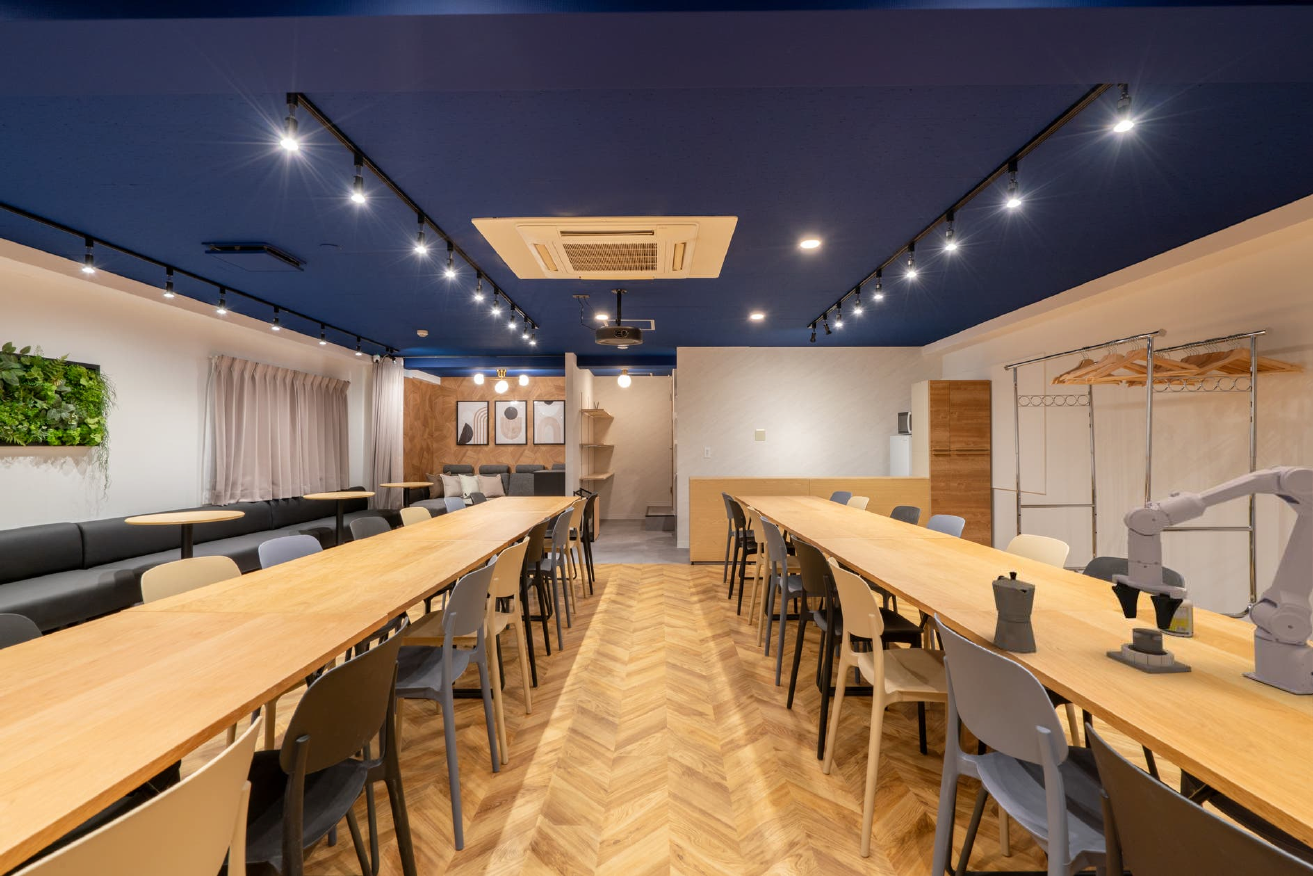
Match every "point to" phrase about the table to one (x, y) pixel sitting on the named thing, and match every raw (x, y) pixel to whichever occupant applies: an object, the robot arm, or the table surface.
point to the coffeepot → (1014, 614)
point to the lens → (1147, 641)
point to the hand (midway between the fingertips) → (1146, 623)
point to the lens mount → (1148, 660)
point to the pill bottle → (1182, 619)
